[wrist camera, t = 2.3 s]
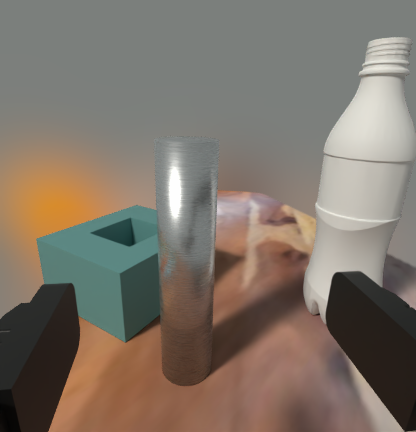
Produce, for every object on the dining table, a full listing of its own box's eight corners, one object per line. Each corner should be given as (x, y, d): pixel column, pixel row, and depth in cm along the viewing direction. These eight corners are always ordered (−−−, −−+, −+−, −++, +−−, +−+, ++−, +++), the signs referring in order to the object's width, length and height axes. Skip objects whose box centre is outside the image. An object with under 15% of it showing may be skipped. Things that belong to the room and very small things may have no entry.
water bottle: (386, 342, 28) (473, 30, 19) (306, 333, 29) (356, 30, 20) (359, 296, 35) (415, 50, 26) (295, 291, 35) (329, 49, 27)
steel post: (181, 340, 27) (180, 135, 21) (220, 359, 25) (230, 139, 19) (151, 370, 24) (140, 139, 18) (192, 395, 22) (195, 144, 16)
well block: (139, 250, 44) (136, 205, 42) (208, 275, 38) (210, 223, 36) (47, 297, 33) (36, 238, 31) (125, 342, 27) (119, 273, 25)
